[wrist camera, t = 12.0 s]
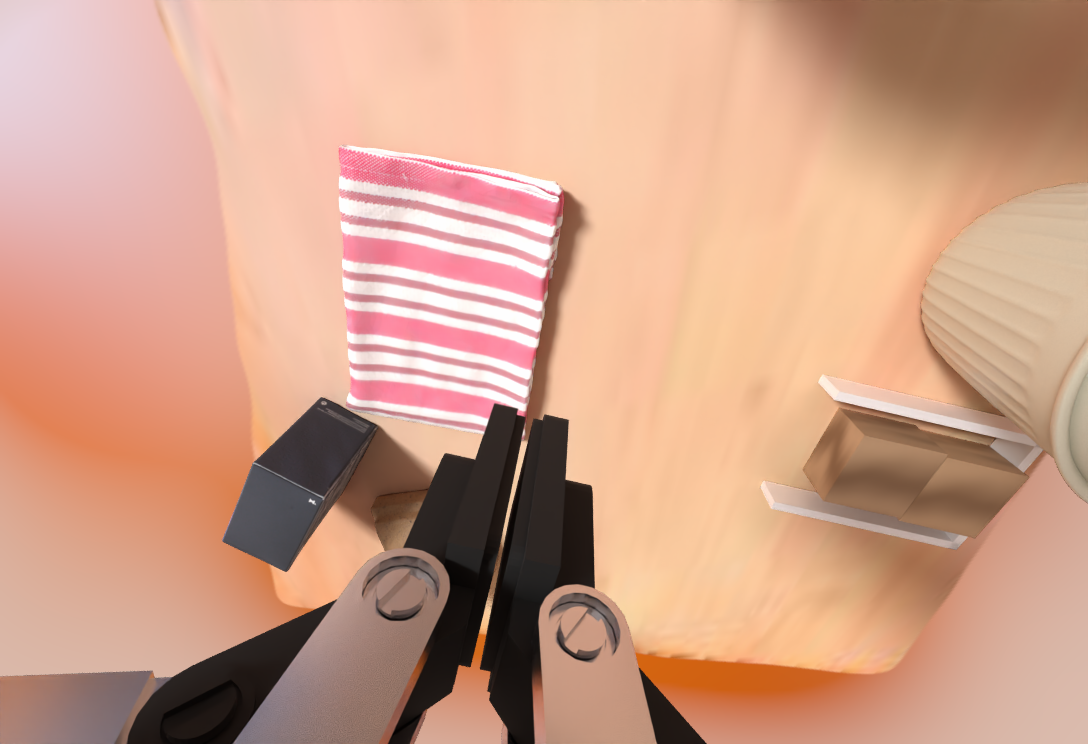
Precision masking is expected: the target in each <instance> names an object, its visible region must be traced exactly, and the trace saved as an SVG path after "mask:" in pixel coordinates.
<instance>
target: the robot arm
mask: <svg viewBox="0 0 1088 744" xmlns="http://www.w3.org/2000/svg"><path fill="white" fill-rule="evenodd" d="M517 412H518V408H514V407H510V406H505V405H501V404H496V403H494V405H493V408H492V411H491V414H490V417H489V420H488V423H487V426H486V429H485V432H484V435H483V438H482V441H481V444H480V447H479V450H478V453H477V456H476V459H475V460H474V459H470V458H465V457H461V456H456V455H452V454H447V453H445V454H444V456H443V458H442V460H441V462H440V464H439V467H438V469H437V471H436V473H435V476H434V478H433V480H432V483H431V485H430V487H429V489H428V492H427V494H426V496H425V499H424V501H423V503H422V505H421V508H420V510H419V512H418V515H417V517H416V519H415V522H414V524H413V526H412V528H411V531H410V533H409V535H408V538H407V540H406V542H405V544H404V547H403V548H398V549H392V550H389V551H385V552H382V553H380V554H378V555H376V556H375V557H373V558H371V559H370V560H368V561H367V562H366V563H365V564H364V565H363V566H362V567H361V568H360V569H359V570H358V572H357V573H356V575H355V576H354V577H353V579H352V580H351V581H350V583H349V584H348V586H347V587H346V588H345V590H344V591H343V592H342V594H341V595H340V597H339V598H338V599H337V600H335V601H332V602H330V603H328V604H326V605H324V606H322V607H319V608H317V609H315V610H313V611H311V612H309V613H306V614H304V615H302V616H300V617H298V618H295V619H293V620H291V621H289V622H287V623H284V624H282V625H280V626H278V627H276V628H274V629H271V630H269V631H267V632H265V633H263V634H261V635H258V636H256V637H254V638H252V639H250V640H247V641H245V642H243V643H241V644H239V645H237V646H235V647H232V648H230V649H228V650H226V651H223V652H221V653H219V654H217V655H215V656H212V657H210V658H208V659H206V660H204V661H202V662H199V663H197V664H195V665H193V666H191V667H189V668H188V669H186V670H184V671H182V672H181V673H179V674H177V675H175V676H174V677H164V678H155V677H154V674H153V671H133V672H132V671H130V672H103V673H78V674H50V675H24V676H0V744H414V743H415V741H416V738H417V736H418V734H419V731H420V729H421V726H422V724H423V722H424V719H425V716H426V712H427V709H428V708H430V707H431V706H433V705H434V704H435V703H437V702H438V701H440V700H441V699H443V698H444V697H446V696H447V695H449V694H450V693H451V692H452V689H453V685H454V682H455V678H456V674H457V670H458V666H459V665H462V666H466V667H471V663H472V658H473V655H474V651H475V647H476V642H477V638H478V634H479V630H480V626H481V622H482V618H483V614H484V610H485V605H486V601H487V597H488V593H489V589H490V585H491V581H492V577H493V573H494V569H495V564H496V560H497V556H498V551H499V547H500V542H501V537H502V532H503V528H504V523H505V518H506V513H507V508H508V503H509V498H510V493H511V489H512V484H513V479H514V474H515V469H516V464H517V459H518V454H519V450H520V445H521V440H522V435H523V430H524V425H525V420H526V417H524V416H520V415H517ZM568 424H569V420H567V419H563V418H558V417H554V416H549V415H544V417H543V421H542V420H538V419H534V420H533V423H532V427H531V431H530V435H529V439H528V444H527V448H526V452H525V456H524V460H523V464H522V468H521V472H520V476H519V480H518V484H517V488H516V492H515V496H514V500H513V504H512V508H511V513H510V517H509V522H508V527H507V532H506V537H505V542H504V547H503V553H502V558H501V563H500V568H499V573H498V578H497V583H496V588H495V593H494V599H493V604H492V609H491V614H490V619H489V624H488V629H487V634H486V640H485V645H484V650H483V655H482V661H481V666H480V669H481V670H486V671H490V672H491V673H490V679H489V685H488V692H490V698H489V701H490V702H491V704H492V705H493V707H494V708H495V710H496V712H497V713H498V715H499V716H500V718H501V720H502V721H503V728H502V739H501V740H502V741H501V743H502V744H706V743H705V741H704V740H703V739H702V738H701V737H700V736H699V735H698V734H697V732H696V731H695V730H694V729H693V728H692V727H691V726H690V724H689V723H688V722H687V721H686V720H685V719H684V718H683V717H682V716H681V714H680V713H679V712H678V711H677V710H676V709H675V708H674V706H673V705H672V704H671V703H670V702H669V701H668V700H667V699H666V697H665V696H664V695H663V694H662V693H661V692H660V691H659V689H658V688H657V687H656V686H655V685H654V684H653V683H652V682H651V680H650V679H649V678H648V677H647V676H646V675H645V674H644V673H643V671H642V670H641V669H640V668H639V667H638V663H637V659H636V655H635V651H634V646H633V642H632V638H631V634H630V630H629V627H628V624H627V622H626V619H625V616H624V614H623V613H622V612H621V610H620V609H619V608H618V606H617V605H616V603H614V602H613V601H612V600H611V599H610V598H609V597H607V596H606V595H605V594H604V593H602V592H600V591H598V590H596V589H595V581H594V535H593V492H592V487H591V485H586V484H582V483H578V482H573V481H569V480H565V478H566V460H567V442H568Z"/></svg>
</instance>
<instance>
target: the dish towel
mask: <svg viewBox="0 0 1088 744" xmlns="http://www.w3.org/2000/svg"><path fill="white" fill-rule="evenodd" d="M339 160H340V165H341V173H340V177H339V192H340V195H339V206H340V213H341V228H342V233H343V246H344V253H343V261H342V269H343V289H344V293H345V298H344V300H345V307H346V313H347V340H348V357H349V361H350V365H349V367H350V375H351V390H350V392H349V395H348V398H347V402H346V406H347V407H348V408H349V409H350V410H352V411H356V412H362V413H368V414H373V415H378V416H383V417H389V418H394V419H400V420H405V421H411V422H417V423H423V424H427V425H433V426H438V427H444V428H450V429H455V430H460V431H465V432H472V433H477V434H483V435H484V432H485V429H486V426H487V423H488V420H489V417H490V414H491V411H492V408H493V405H494V403H496V404H501V405H505V406H510V407H514V408H518V412H517V415H520V416H524V417H526V418H527V407H528V404H529V400H530V392H531V389H532V382H533V372H534V367H535V363H536V349H537V347H538V345H539V340H540V337H539V336H540V332H541V329H542V321H543V319H544V317H545V303H546V300H547V296H548V281H549V279H552V275H553V274H552V272H553V271H554V269H553V263H554V262H555V261H556V258H557V245H558V240H559V237H560V228H561V225H562V221H563V205H564V193H563V188H562V187H561V185H558V184H557V182H555V181H546V180H541V179H536V178H532V177H529V176H525V175H521V174H518V173H514V172H509V171H505V170H500V169H494V168H489V167H482V166H476V165H470V164H465V163H460V162H455V161H450V160H445V159H441V158H436V157H430V156H424V155H418V154H409V153H400V152H394V151H388V150H383V149H374V148H360V147H355V146H348V145H340V146H339ZM525 425H526V420H525ZM525 425H524V430H523V435H522V440H524V439H525ZM522 440H521V441H522Z"/></svg>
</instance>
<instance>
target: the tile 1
mask: <svg viewBox="0 0 1088 744" xmlns="http://www.w3.org/2000/svg"><path fill="white" fill-rule="evenodd" d="M947 456H948V454H947V453H946V452H945V451H944V450H943V449H942V448H941V447H939V446H938V445H937V444H936V443H935V442H934V441H933V440H931V439H930V438H929V437H928V436H927V435H926V434H925V433H924V432H922V431H921V430H920V429H919V428H918V427H917V426H916V425H912V424H908V423H904V422H899V421H895V420H890V419H886V418H882V417H877V416H873V415H868V414H864V413H860V412H855V411H851V410H846V409H842V408H839V409H838V410H837V412H836V414H835V415H834V417H833V419H832V421H831V422H830V424H829V426H828V427H827V429H826V431H825V432H824V434H823V436H822V438H821V439H820V441H819V443H818V444H817V446H816V448H815V449H814V451H813V453H812V455H811V456H810V458H809V460H808V461H807V463H806V465H805V467H804V468H803V471H804V472H805V474H806V476H807V477H808V479H809V480H810V482H811V483H812V485H813V486H814V488H815V489H816V491H817V493H818V494H819V496H820V497H821V499H822V500H823V501H825V502H829V503H834V504H839V505H843V506H848V507H852V508H857V509H861V510H866V511H870V512H875V513H879V514H884V515H888V516H893V517H897V518H901V517H902V516H903V514H904V513H905V512H906V510H907V509H908V508H909V506H910V505H911V504H912V502H913V501H914V500H915V498H916V497H917V496H918V494H919V493H920V492H921V490H922V489H923V488H924V486H925V485H926V484H927V482H928V481H929V480H930V478H931V477H932V476H933V474H934V473H935V472H936V470H937V469H938V468H939V466H940V465H941V464H942V462H943V461H944V460H945V458H946V457H947Z"/></svg>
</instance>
